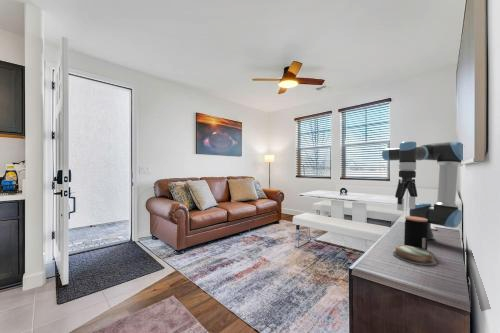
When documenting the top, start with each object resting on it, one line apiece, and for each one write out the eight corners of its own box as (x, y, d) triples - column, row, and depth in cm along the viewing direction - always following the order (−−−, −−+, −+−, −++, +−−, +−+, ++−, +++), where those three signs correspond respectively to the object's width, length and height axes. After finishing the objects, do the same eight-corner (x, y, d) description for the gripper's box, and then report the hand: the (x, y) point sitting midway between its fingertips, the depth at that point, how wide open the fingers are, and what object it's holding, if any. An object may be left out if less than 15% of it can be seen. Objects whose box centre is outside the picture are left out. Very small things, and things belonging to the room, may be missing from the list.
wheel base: (409, 249, 125) (409, 247, 125) (445, 263, 108) (445, 260, 108) (385, 252, 120) (385, 250, 120) (419, 267, 102) (419, 264, 102)
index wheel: (409, 249, 124) (410, 233, 124) (441, 261, 109) (441, 243, 109) (388, 252, 119) (388, 235, 119) (418, 264, 104) (419, 245, 104)
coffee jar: (421, 246, 131) (421, 216, 131) (431, 253, 120) (432, 221, 120) (400, 245, 133) (401, 215, 133) (409, 251, 123) (410, 219, 123)
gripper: (409, 170, 128) (408, 206, 128) (388, 169, 115) (387, 210, 115) (425, 170, 122) (424, 208, 122) (404, 170, 109) (403, 212, 108)
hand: (406, 209), depth 118 cm, fingers open, 13 cm apart
